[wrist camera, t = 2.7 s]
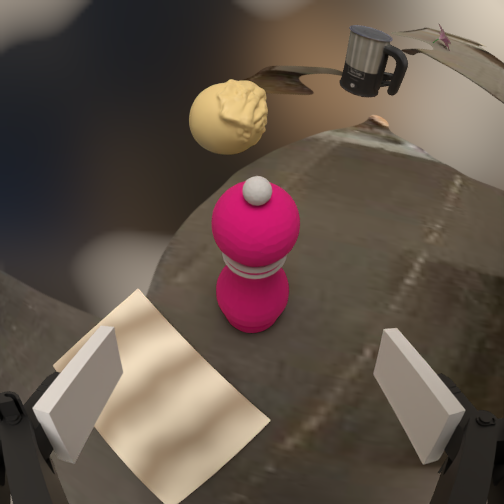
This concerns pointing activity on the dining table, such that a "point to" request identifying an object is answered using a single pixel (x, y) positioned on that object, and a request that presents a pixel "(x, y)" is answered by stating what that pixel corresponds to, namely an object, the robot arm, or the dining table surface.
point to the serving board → (168, 405)
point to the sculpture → (229, 117)
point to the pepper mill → (254, 252)
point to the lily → (444, 37)
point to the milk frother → (371, 63)
